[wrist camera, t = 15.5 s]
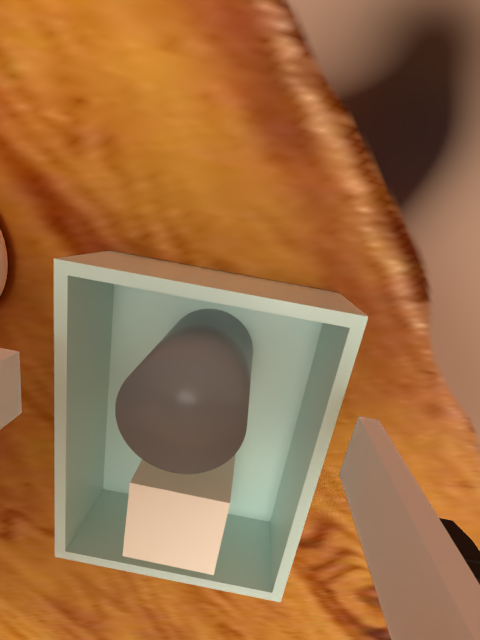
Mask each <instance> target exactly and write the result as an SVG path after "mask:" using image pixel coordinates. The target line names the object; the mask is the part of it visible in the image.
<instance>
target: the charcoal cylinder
mask: <svg viewBox="0 0 480 640" xmlns="http://www.w3.org/2000/svg"><path fill="white" fill-rule="evenodd" d="M252 358H253V345H252V340H251V337H250V334H249V332H248V331H247V329H246V327H245V326H244V325H243V324H242V322H240V321H239V320H238V319H237V318H236V317H234V316H233V315H231V314H229V313H227V312H225V311H222V310H218V309H200V310H196V311H193V312H191V313H189V314H187V315H185V316H184V317H183V318H182V319H180V320H179V322H178V323H177V324H176V325H175V326H174V327H173V328H172V329H171V330H170V331H169V332H168V334H167V335H166V336H165V337H164V338H163V339H162V340H161V341H160V342H159V343H158V344H157V346H156V347H155V348H154V349H153V350H152V351H151V352H150V353H149V354H148V355H147V356H146V358H145V359H144V360H143V361H142V362H141V363H140V364H139V365H138V366H137V367H136V368H135V370H134V371H133V372H132V373H131V374H130V375H129V376H128V377H127V378H126V380H125V381H124V382H123V384H122V385H121V388H120V390H119V392H118V395H117V398H116V404H115V416H116V422H117V425H118V429H119V431H120V433H121V435H122V437H123V439H124V440H125V442H126V444H127V445H128V446H129V447H130V449H131V450H132V451H133V452H134V453H135V454H136V455H138V456H139V457H140V458H141V459H143V460H144V461H146V462H147V463H149V464H150V465H152V466H155V467H157V468H159V469H162V470H164V471H168V472H172V473H178V474H198V473H203V472H207V471H210V470H213V469H215V468H218V467H220V466H221V465H223V464H225V463H226V462H227V461H229V460H230V459H231V458H232V457H233V456H234V455H235V454H236V453H237V451H238V450H239V448H240V447H241V445H242V443H243V441H244V438H245V435H246V430H247V421H248V408H249V396H250V383H251V370H252Z"/></svg>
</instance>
